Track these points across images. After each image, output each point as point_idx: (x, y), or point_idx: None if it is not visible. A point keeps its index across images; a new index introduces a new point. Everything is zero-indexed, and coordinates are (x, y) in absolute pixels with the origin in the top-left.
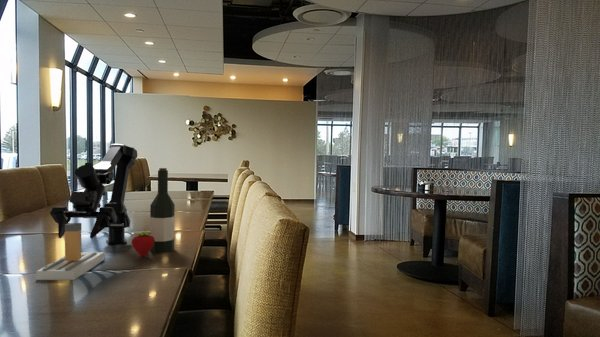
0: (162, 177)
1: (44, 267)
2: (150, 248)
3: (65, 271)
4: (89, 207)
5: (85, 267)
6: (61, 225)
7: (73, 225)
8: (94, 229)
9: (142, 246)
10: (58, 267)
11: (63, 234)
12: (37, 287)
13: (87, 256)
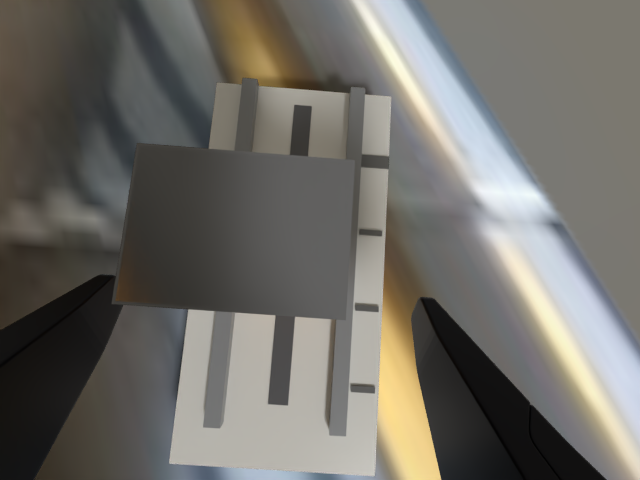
0: None
1: (383, 151)
2: None
3: (258, 87)
4: None
5: None
6: (499, 419)
7: (208, 154)
8: (8, 330)
9: None
10: (315, 145)
11: (420, 380)
12: (333, 34)
13: (225, 315)
